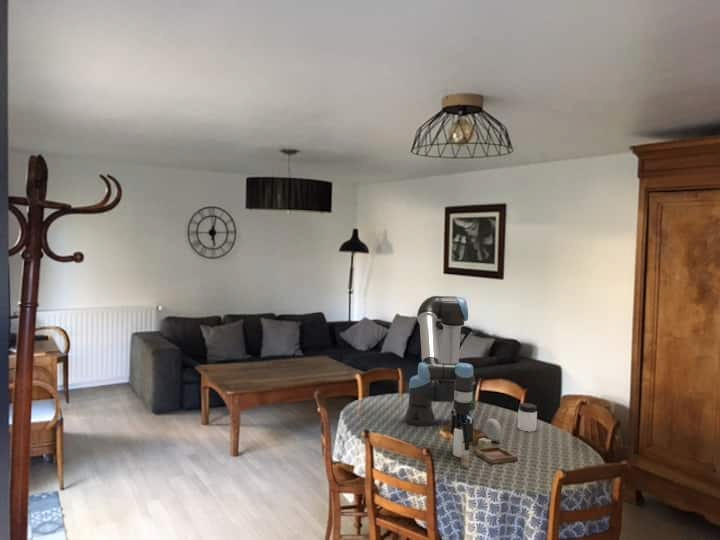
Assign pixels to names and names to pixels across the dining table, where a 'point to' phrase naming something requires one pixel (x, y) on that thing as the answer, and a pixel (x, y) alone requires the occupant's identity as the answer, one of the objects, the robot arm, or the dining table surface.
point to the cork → (465, 460)
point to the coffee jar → (473, 393)
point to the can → (458, 441)
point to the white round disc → (489, 431)
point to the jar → (527, 417)
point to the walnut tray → (495, 455)
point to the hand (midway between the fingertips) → (460, 454)
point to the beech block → (484, 443)
